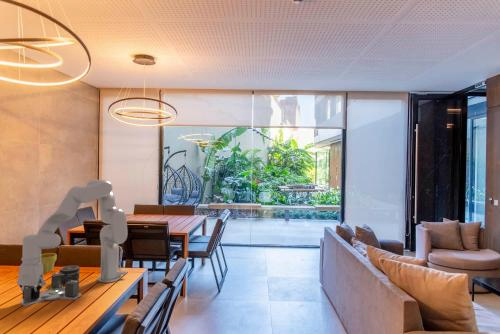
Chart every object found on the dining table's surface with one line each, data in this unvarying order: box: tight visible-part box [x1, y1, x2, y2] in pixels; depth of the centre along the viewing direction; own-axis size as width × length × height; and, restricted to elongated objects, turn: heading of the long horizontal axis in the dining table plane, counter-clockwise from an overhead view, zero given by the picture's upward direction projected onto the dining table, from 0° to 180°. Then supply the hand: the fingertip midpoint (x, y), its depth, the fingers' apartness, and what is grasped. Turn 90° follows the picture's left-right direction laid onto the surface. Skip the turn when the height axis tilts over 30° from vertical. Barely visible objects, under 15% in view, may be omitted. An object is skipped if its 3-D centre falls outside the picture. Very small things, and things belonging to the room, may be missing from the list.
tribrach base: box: [20, 284, 83, 307], centre depth 164 cm, size 26×22×3 cm
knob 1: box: [22, 286, 39, 302], centre depth 154 cm, size 5×4×7 cm
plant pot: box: [41, 252, 58, 274], centre depth 199 cm, size 10×10×10 cm
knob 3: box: [64, 280, 80, 297], centre depth 161 cm, size 5×4×7 cm
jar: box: [59, 265, 81, 285], centre depth 183 cm, size 10×10×8 cm
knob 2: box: [50, 271, 62, 289], centre depth 172 cm, size 5×4×7 cm
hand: (31, 297), depth 154 cm, fingers closed on knob 1, 5 cm apart
